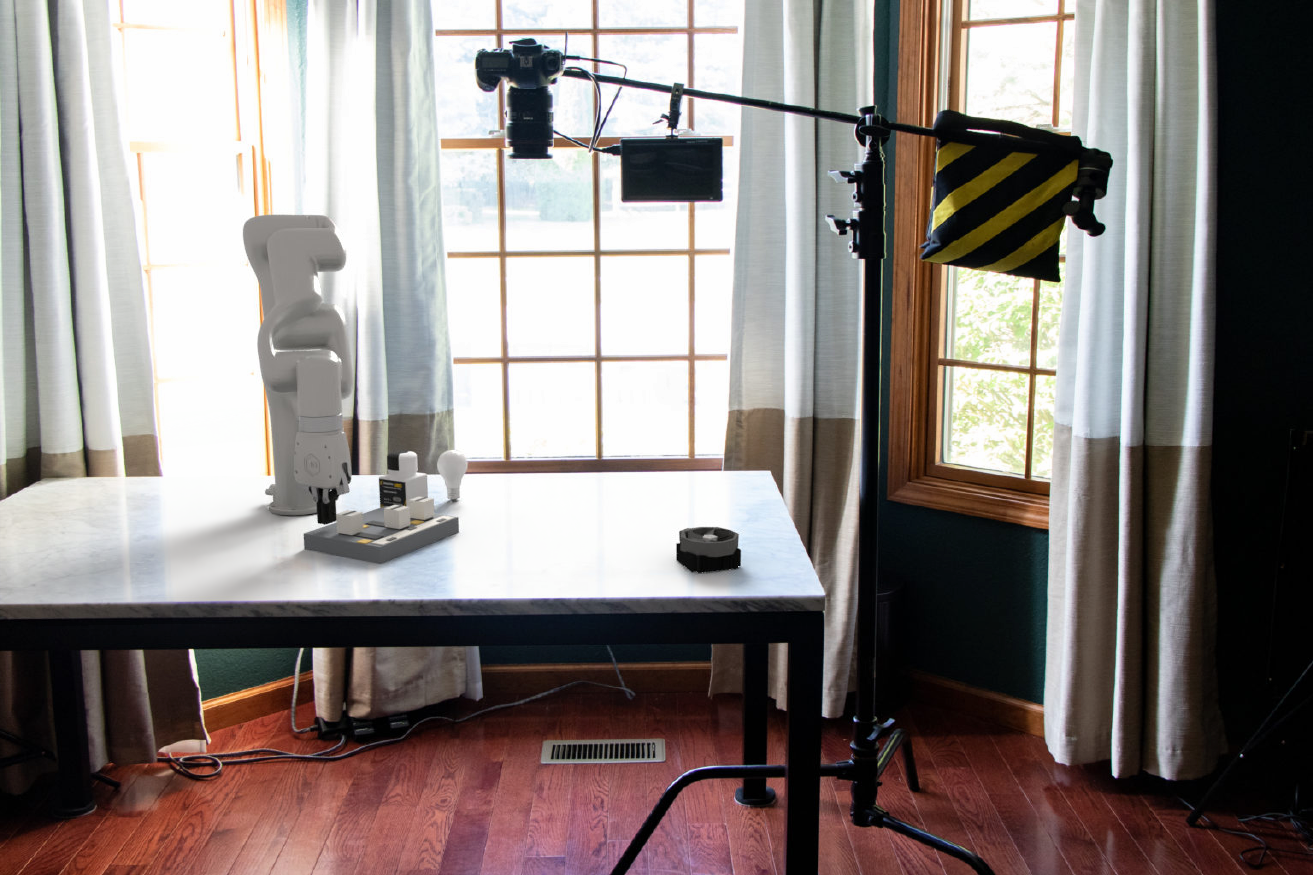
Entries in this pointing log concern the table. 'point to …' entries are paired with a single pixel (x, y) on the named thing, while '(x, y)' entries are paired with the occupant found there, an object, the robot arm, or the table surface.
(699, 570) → the cpu cooler
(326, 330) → the robot arm
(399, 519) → the switch
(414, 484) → the medicine bottle
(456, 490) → the lightbulb
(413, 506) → the switch
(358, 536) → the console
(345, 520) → the switch
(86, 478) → the table surface
